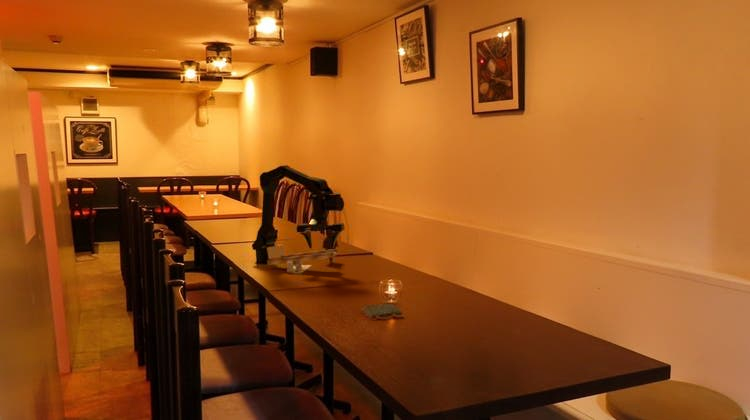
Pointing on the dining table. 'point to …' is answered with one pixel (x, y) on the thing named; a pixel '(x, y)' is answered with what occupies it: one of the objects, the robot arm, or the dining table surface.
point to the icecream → (329, 242)
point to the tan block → (275, 251)
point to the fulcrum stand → (297, 267)
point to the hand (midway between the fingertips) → (321, 248)
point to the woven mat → (382, 311)
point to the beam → (304, 256)
